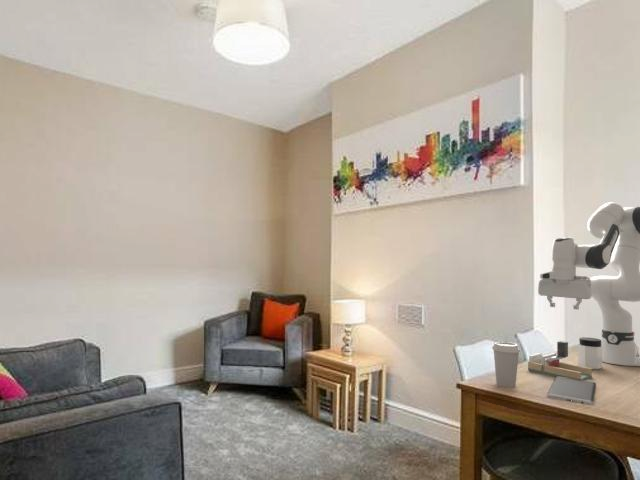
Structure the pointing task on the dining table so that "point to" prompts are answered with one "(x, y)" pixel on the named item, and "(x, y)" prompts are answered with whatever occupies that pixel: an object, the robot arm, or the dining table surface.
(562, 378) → the smartphone
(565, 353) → the kicker rod
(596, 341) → the jar
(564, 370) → the pitch
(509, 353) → the coffee cup
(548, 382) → the dining table surface
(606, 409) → the dining table surface
